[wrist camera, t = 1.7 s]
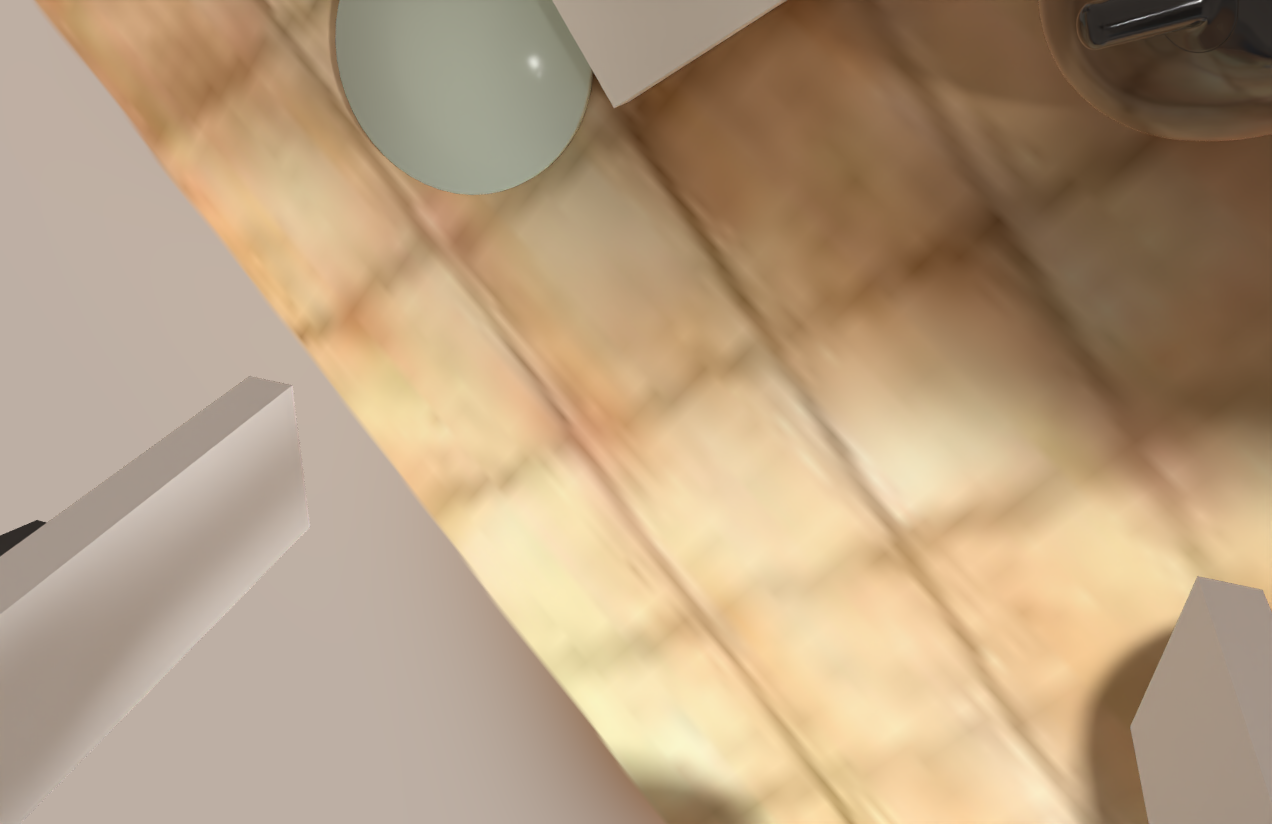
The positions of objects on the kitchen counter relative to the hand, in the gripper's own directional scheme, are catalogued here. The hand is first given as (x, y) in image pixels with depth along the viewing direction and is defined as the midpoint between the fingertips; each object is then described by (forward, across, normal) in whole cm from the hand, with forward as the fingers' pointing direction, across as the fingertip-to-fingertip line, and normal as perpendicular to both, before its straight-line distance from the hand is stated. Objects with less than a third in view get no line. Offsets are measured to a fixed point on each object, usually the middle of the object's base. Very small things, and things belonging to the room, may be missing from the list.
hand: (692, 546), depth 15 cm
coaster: (+27, +16, -1) cm, 32 cm away
